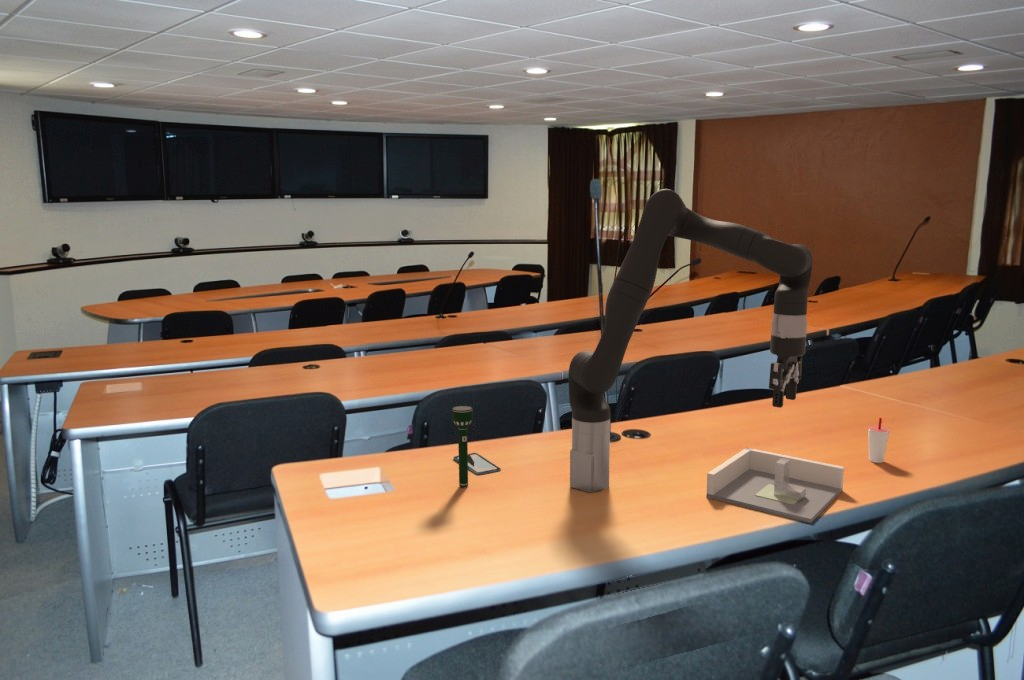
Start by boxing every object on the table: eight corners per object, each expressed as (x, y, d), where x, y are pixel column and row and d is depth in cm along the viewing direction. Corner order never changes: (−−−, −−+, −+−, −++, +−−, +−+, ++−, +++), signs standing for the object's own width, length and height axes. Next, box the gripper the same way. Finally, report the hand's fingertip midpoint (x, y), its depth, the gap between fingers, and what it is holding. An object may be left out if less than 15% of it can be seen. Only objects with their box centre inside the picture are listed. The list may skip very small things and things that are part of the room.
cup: (889, 464, 199) (893, 421, 197) (867, 463, 200) (871, 420, 198) (884, 458, 204) (887, 415, 202) (862, 457, 205) (866, 414, 203)
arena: (810, 523, 163) (812, 497, 162) (706, 497, 177) (707, 473, 176) (842, 490, 181) (844, 466, 180) (745, 469, 196) (746, 447, 195)
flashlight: (457, 491, 182) (455, 411, 178) (450, 484, 186) (448, 406, 183) (477, 488, 184) (475, 409, 180) (469, 481, 188) (468, 404, 185)
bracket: (773, 495, 175) (775, 462, 174) (779, 490, 178) (781, 457, 177) (799, 501, 172) (802, 467, 170) (805, 496, 175) (807, 463, 173)
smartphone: (477, 474, 192) (452, 456, 205) (477, 478, 193) (452, 460, 205) (502, 469, 196) (476, 452, 209) (502, 472, 196) (476, 455, 209)
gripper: (783, 327, 178) (778, 394, 180) (760, 335, 167) (756, 406, 169) (815, 331, 173) (810, 399, 176) (794, 339, 162) (789, 412, 165)
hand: (784, 403), depth 173 cm, fingers open, 8 cm apart
